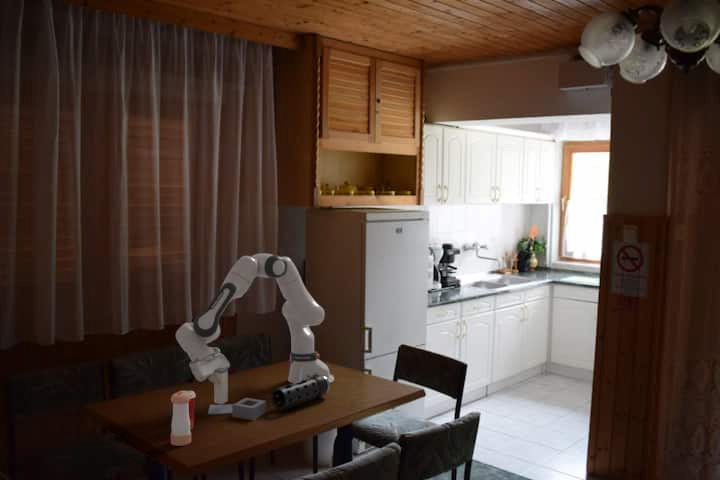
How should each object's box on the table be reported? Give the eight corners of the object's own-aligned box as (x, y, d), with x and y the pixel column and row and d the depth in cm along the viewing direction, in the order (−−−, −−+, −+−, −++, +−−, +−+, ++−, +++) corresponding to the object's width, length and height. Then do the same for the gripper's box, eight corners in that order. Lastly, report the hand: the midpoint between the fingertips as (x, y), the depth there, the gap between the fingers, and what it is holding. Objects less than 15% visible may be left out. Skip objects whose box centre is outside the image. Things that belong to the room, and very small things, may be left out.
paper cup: (179, 424, 262) (178, 389, 261) (198, 424, 262) (198, 390, 261) (172, 431, 255) (172, 395, 254) (192, 432, 254) (192, 396, 253)
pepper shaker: (166, 444, 243) (166, 392, 241) (178, 437, 249) (178, 387, 248) (183, 447, 240) (182, 395, 238) (195, 440, 247) (194, 389, 245)
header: (245, 409, 281) (245, 397, 281) (266, 412, 277) (266, 401, 277) (232, 416, 272) (232, 404, 271) (253, 420, 268) (253, 408, 268)
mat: (233, 405, 285) (233, 404, 285) (232, 413, 276) (232, 412, 275) (210, 406, 284) (210, 404, 284) (207, 414, 274) (207, 412, 274)
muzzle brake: (270, 409, 281) (270, 385, 280) (315, 394, 303) (315, 372, 302) (286, 415, 275) (286, 390, 275) (331, 398, 297) (331, 376, 296)
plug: (219, 399, 282) (219, 367, 281) (227, 401, 281) (227, 368, 279) (214, 402, 278) (214, 370, 277) (222, 404, 277) (222, 371, 276)
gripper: (192, 358, 271) (212, 384, 268) (220, 347, 290) (239, 372, 287) (183, 367, 273) (202, 394, 270) (212, 356, 292) (231, 380, 289)
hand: (222, 382), depth 279 cm, fingers closed on plug, 4 cm apart
